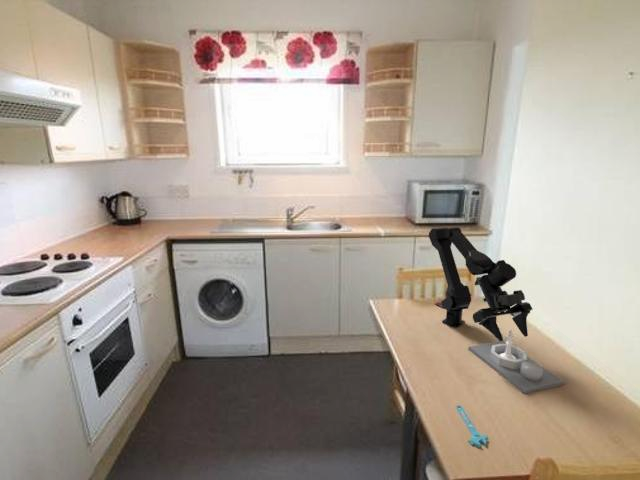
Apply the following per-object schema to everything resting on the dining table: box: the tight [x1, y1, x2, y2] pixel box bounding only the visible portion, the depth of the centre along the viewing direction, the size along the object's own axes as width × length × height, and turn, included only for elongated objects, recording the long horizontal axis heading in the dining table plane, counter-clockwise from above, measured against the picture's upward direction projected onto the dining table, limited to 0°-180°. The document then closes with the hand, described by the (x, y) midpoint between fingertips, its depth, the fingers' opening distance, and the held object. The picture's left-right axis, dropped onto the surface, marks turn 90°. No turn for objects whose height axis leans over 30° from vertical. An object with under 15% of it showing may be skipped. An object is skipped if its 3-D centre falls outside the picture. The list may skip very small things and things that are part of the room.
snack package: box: [434, 299, 444, 309], centre depth 160 cm, size 12×2×5 cm
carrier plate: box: [467, 340, 565, 395], centre depth 115 cm, size 24×14×4 cm, turn 16°
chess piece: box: [500, 329, 516, 360], centre depth 116 cm, size 5×5×10 cm
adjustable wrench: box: [455, 404, 489, 448], centre depth 91 cm, size 14×1×5 cm
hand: (514, 338), depth 114 cm, fingers open, 9 cm apart
